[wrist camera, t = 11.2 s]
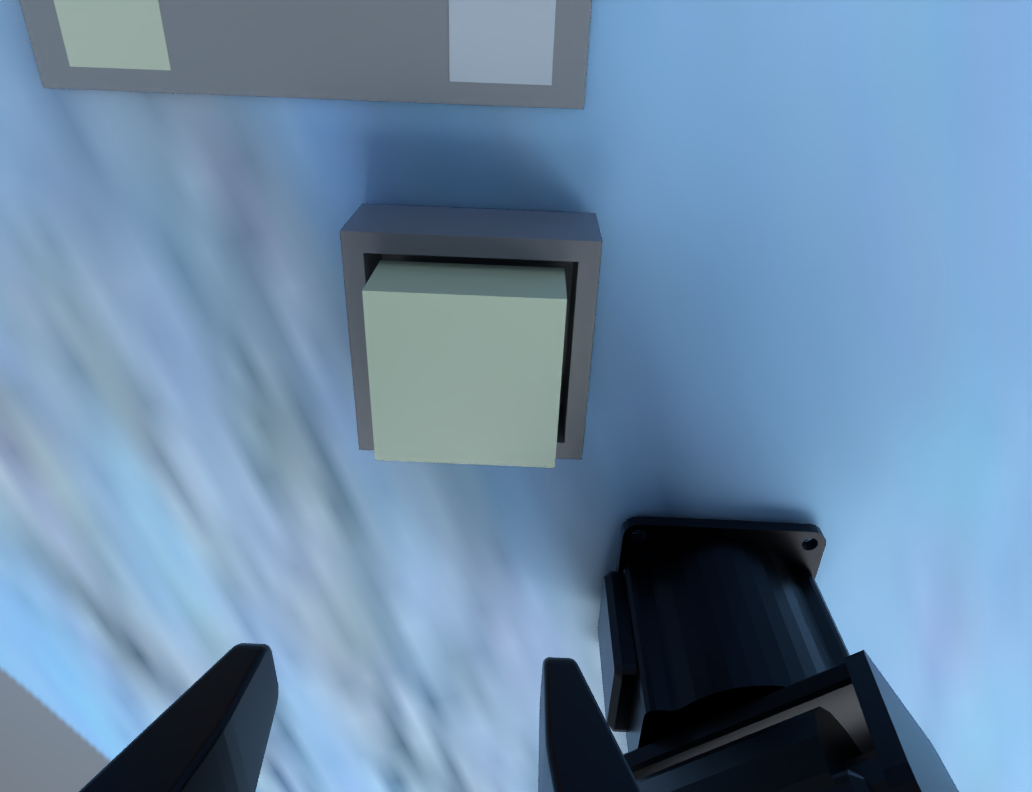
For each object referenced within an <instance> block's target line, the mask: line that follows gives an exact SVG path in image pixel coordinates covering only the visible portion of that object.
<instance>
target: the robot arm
mask: <svg viewBox="0 0 1032 792" xmlns="http://www.w3.org/2000/svg"><path fill="white" fill-rule="evenodd" d="M638 530H640V531H644V532H642V533H641V534H637V535H636V534H632V533H633V532H634V531H638ZM809 538H813V539H812V540H810V541H808V542H803V541H804V540H806V539H809ZM825 545H826V540H825V538H824V536H823V534H822V532H821V530H820V528H819V527H817V526H816V525H812V524H798V523H776V522H754V521H731V520H709V519H687V518H665V517H642V516H637V517H632V518H629V519H627V520H626V521H625V522H624V523H623V526H622V529H621V536H620V544H619V551H618V559H617V566H616V571H610V572H609V573H608V574H607V575H606V576H605V577H604V581H603V589H602V597H601V605H600V613H599V621H598V636H599V647H600V658H601V670H602V681H603V692H604V703H605V714H606V720H605V718H604V716H603V714H602V712H601V710H600V708H599V706H598V704H597V702H596V700H595V698H594V696H593V694H592V692H591V690H590V688H589V686H588V684H587V682H586V680H585V678H584V676H583V674H582V672H581V670H580V668H579V666H578V665H577V663H576V662H575V661H574V660H573V659H570V658H553V657H548V658H546V659H545V660H544V661H543V668H542V681H541V695H540V717H539V776H538V792H959V791H958V789H957V788H956V786H955V784H954V782H953V780H952V779H951V777H950V775H949V773H948V771H947V769H946V768H945V766H944V764H943V762H942V760H941V759H940V757H939V755H938V753H937V752H936V750H935V748H934V746H933V745H932V743H931V742H930V740H929V739H928V738H927V736H926V735H925V733H924V732H923V731H922V729H921V728H920V727H919V725H918V724H917V722H916V721H915V720H914V718H913V717H912V716H911V714H910V713H909V711H908V710H907V709H906V707H905V706H904V704H903V703H902V702H901V700H900V699H899V698H898V696H897V695H896V693H895V692H894V691H893V689H892V688H891V686H890V685H889V684H888V682H887V681H886V680H885V678H884V677H883V675H882V674H881V673H880V671H879V670H878V669H877V667H876V666H875V664H874V663H873V662H872V660H871V659H870V657H869V656H868V655H867V653H866V652H865V651H864V650H862V651H860V652H858V653H855V654H853V655H850V654H849V652H848V650H847V648H846V646H845V644H844V642H843V639H842V637H841V635H840V633H839V631H838V629H837V626H836V624H835V622H834V620H833V618H832V616H831V614H830V611H829V609H828V607H827V605H826V603H825V601H824V598H823V596H822V594H821V592H820V590H819V588H818V586H817V583H816V581H815V577H816V574H817V570H818V567H819V564H820V561H821V558H822V555H823V552H824V548H825ZM277 700H278V681H277V676H276V671H275V666H274V661H273V656H272V651H271V649H270V647H269V646H268V645H265V644H252V643H241V644H238V645H236V646H234V647H233V648H232V649H231V650H230V651H228V652H227V653H226V654H225V655H224V656H223V657H222V658H221V659H220V660H219V661H218V662H217V663H216V664H215V665H213V666H212V667H211V668H210V669H209V670H208V671H207V672H206V673H205V674H204V675H203V676H202V677H201V678H200V679H199V680H197V681H196V682H195V683H194V684H193V685H192V686H191V687H190V688H189V689H188V690H187V691H186V692H185V693H184V694H183V695H181V696H180V697H179V698H178V699H177V700H176V701H175V702H174V703H173V704H172V705H171V706H170V707H169V708H168V709H167V710H165V711H164V712H163V713H162V714H161V715H160V716H159V717H158V718H157V719H156V720H155V721H154V722H153V723H152V724H150V725H149V726H148V727H147V728H146V729H145V730H144V731H143V732H142V733H141V734H140V735H139V736H138V737H137V738H136V739H134V740H133V741H132V742H131V743H130V744H129V745H128V746H127V747H126V748H125V749H124V750H123V751H122V752H121V753H120V754H118V755H117V756H116V757H115V758H114V759H113V760H112V761H111V762H110V763H109V764H108V765H107V766H106V767H105V768H103V770H101V771H100V772H99V773H98V774H97V775H96V776H95V777H94V778H93V779H92V780H91V781H90V782H89V783H88V784H86V785H85V786H84V787H83V788H82V789H81V790H80V791H79V792H255V790H256V786H257V782H258V778H259V774H260V770H261V766H262V762H263V758H264V754H265V750H266V746H267V742H268V738H269V734H270V730H271V726H272V722H273V718H274V714H275V710H276V705H277ZM609 727H610V728H611V729H612V730H613V731H616V732H626V737H627V746H628V753H625V754H623V753H622V752H621V750H620V748H619V746H618V744H617V742H616V740H615V738H614V736H613V734H612V732H611V730H610V728H609Z"/></svg>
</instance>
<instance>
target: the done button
mask: <svg viewBox="0 0 1032 792" xmlns="http://www.w3.org/2000/svg"><path fill="white" fill-rule="evenodd" d="M362 296H363V309H364V322H365V335H366V348H367V361H368V374H369V387H370V400H371V413H372V426H373V439H374V452H375V460H383V461H406V462H428V463H451V464H473V465H496V466H518V467H541V468H555V459H556V445H557V432H558V418H559V404H560V390H561V376H562V363H563V349H564V335H565V321H566V307H567V293H566V281H565V269H564V268H554V267H530V266H506V265H482V264H458V263H434V262H410V261H386V260H380V261H379V263H378V265H377V267H376V268H375V270H374V272H373V273H372V275H371V277H370V278H369V280H368V282H367V283H366V285H365V287H364V288H363V290H362Z"/></svg>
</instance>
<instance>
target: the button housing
mask: <svg viewBox="0 0 1032 792" xmlns="http://www.w3.org/2000/svg"><path fill="white" fill-rule="evenodd" d="M340 239H341V250H342V261H343V272H344V284H345V295H346V306H347V317H348V329H349V340H350V351H351V362H352V374H353V385H354V396H355V407H356V419H357V430H358V441H359V450H374V439H373V426H372V413H371V400H370V387H369V374H368V361H367V348H366V335H365V322H364V309H363V296H362V290H363V288H364V287H365V285H366V283H367V282H368V280H369V278H370V277H371V275H372V273H373V272H374V270H375V268H376V267H377V265H378V263H379V261H380V260H386V261H410V262H434V263H458V264H482V265H506V266H530V267H554V268H564V269H565V281H566V293H567V307H566V321H565V335H564V349H563V363H562V376H561V390H560V404H559V418H558V432H557V445H556V458H560V459H582V452H583V442H584V431H585V420H586V410H587V399H588V389H589V378H590V367H591V357H592V346H593V335H594V325H595V314H596V304H597V293H598V282H599V272H600V261H601V250H602V238H601V234H600V230H599V226H598V222H597V218H596V214H595V213H578V212H554V211H529V210H505V209H480V208H456V207H431V206H407V205H382V204H362V205H361V206H360V207H359V208H358V210H357V211H356V212H355V213H354V214H353V216H352V217H351V218H350V219H349V220H348V222H347V223H346V224H345V225H344V226H343V228H342V229H341V230H340Z"/></svg>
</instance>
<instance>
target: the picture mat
mask: <svg viewBox="0 0 1032 792" xmlns="http://www.w3.org/2000/svg"><path fill="white" fill-rule="evenodd" d="M20 4H21V8H22V12H23V15H24V19H25V23H26V26H27V30H28V34H29V38H30V41H31V45H32V49H33V53H34V56H35V60H36V64H37V67H38V71H39V75H40V79H41V82H42V86H43V88H58V89H83V90H108V91H134V92H159V93H185V94H210V95H235V96H261V97H286V98H311V99H337V100H362V101H388V102H413V103H438V104H464V105H489V106H514V107H540V108H565V109H584V100H585V87H586V73H587V60H588V46H589V33H590V19H591V6H592V0H20Z"/></svg>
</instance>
